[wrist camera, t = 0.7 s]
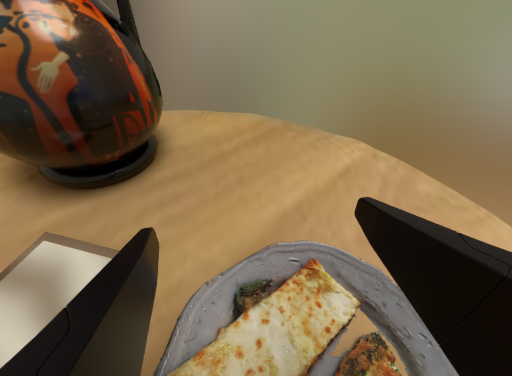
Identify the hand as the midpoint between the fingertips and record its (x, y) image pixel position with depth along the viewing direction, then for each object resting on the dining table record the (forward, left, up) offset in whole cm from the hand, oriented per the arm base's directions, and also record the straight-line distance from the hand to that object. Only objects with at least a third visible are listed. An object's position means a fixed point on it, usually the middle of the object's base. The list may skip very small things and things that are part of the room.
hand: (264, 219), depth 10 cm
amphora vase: (+18, +29, -16) cm, 38 cm away
